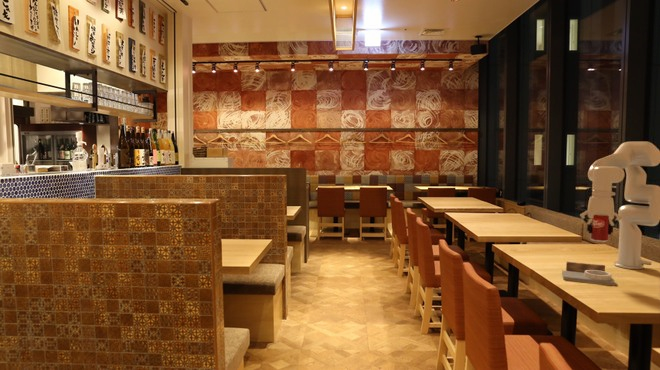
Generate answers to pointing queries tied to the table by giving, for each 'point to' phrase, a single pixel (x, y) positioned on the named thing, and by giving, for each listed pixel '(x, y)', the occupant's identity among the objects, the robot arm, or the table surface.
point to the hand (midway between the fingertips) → (599, 233)
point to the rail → (583, 267)
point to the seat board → (584, 279)
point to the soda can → (600, 228)
